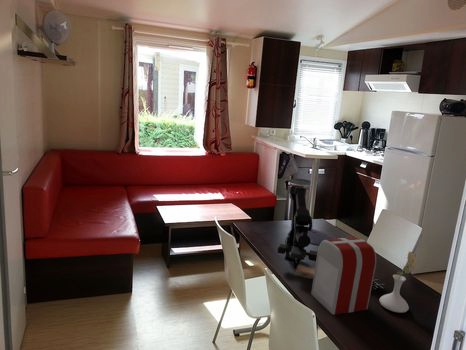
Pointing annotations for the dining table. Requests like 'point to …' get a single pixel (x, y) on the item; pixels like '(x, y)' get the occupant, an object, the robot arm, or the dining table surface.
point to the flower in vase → (394, 298)
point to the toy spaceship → (318, 237)
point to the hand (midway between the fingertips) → (295, 268)
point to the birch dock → (304, 273)
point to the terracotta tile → (305, 270)
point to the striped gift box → (344, 274)
